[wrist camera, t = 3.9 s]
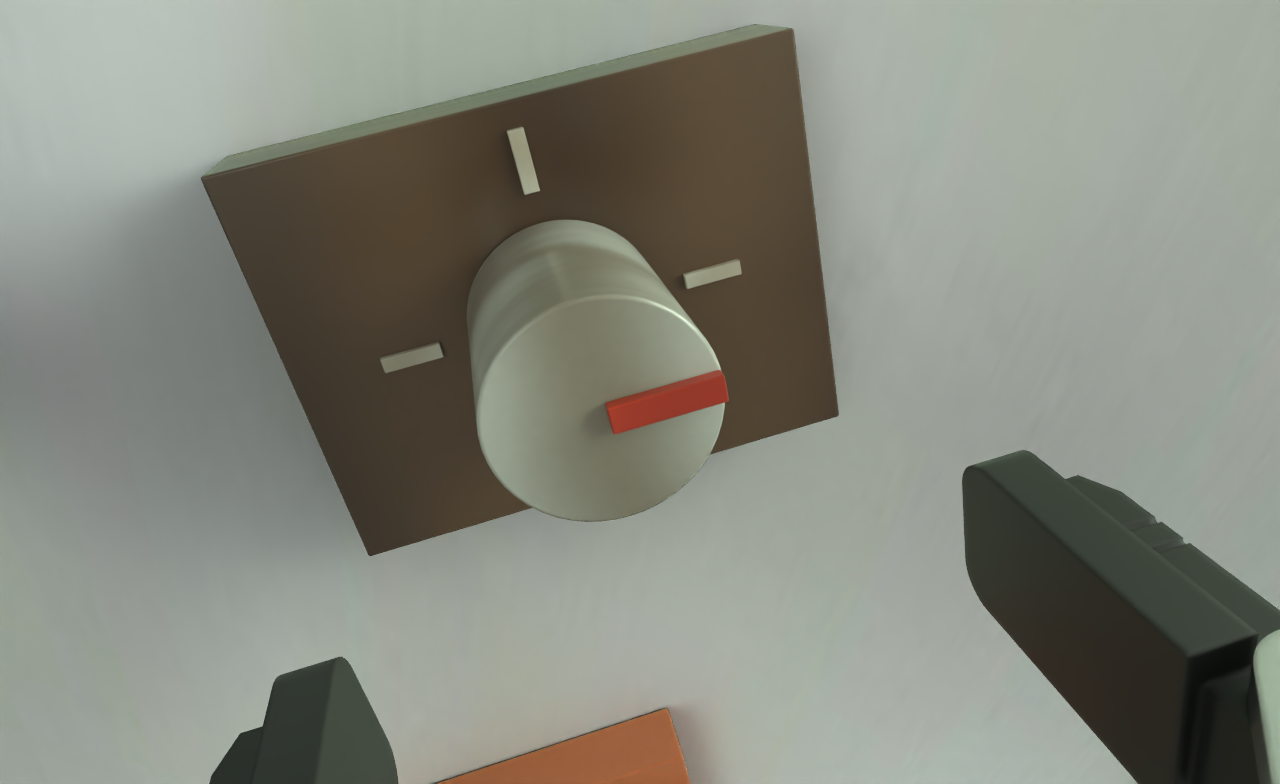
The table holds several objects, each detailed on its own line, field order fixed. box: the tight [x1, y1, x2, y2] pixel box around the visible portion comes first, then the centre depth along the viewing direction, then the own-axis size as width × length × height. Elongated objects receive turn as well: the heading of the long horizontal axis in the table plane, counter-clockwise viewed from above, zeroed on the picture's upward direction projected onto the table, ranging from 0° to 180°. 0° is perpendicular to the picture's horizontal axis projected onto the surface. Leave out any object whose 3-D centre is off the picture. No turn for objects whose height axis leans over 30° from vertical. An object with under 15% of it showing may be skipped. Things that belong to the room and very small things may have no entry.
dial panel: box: [201, 24, 839, 556], centre depth 22 cm, size 13×10×3 cm
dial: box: [467, 220, 729, 522], centre depth 18 cm, size 5×5×6 cm
